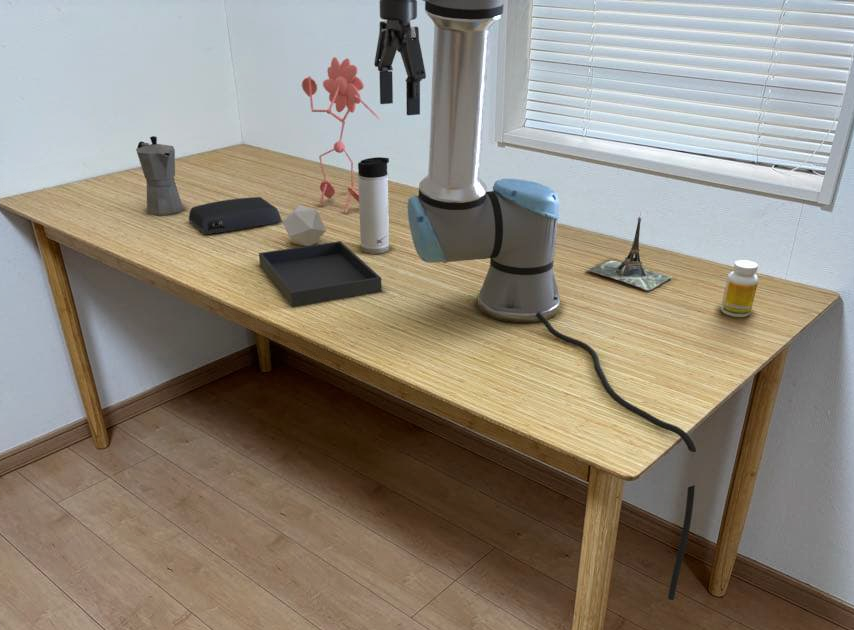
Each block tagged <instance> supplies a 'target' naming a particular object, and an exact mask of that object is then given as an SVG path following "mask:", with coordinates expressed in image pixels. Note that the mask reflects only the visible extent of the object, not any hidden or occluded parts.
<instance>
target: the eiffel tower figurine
mask: <svg viewBox="0 0 854 630" xmlns="http://www.w3.org/2000/svg"><path fill="white" fill-rule="evenodd" d="M641 214H642V212H641V211H640V214H639V215H641ZM641 221H642V217H641V216H639V217H638V218H637V225H636V229H635V234H634V237H633V242H632V246H631V247H630V251H629V253H628V255H627V256H626V257H625V258H624V260H623V261H622V262H620V261H616V260H612V259H611V260H608V261H607V262H605V263H602V264H599V265H597V266H594V267H591V268H589V269H587V272H588V271H589V272H592V273H595V274H597V275H600V276H603V277H607V278H610V279H614V280H617V281H619V282H623V283H626V284H629V285H632V286H634V287H638V288H640V289H643V290H645V291H648V292H649V291H652V290H653V289H655V288H656V287H658V286H661V285H662V284H663V283H665V282H667V281H669V280H670V279H671V278H672V279H673V277H674V275H669V274H664V273H659V272H656V271H652V270H651V269H646V268H644V267H643V265H642V264H643V261H642V260H641V256H640V247H639V246H640V232H641Z"/></svg>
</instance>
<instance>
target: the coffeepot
mask: <svg viewBox="0 0 854 630" xmlns="http://www.w3.org/2000/svg"><path fill="white" fill-rule="evenodd" d="M149 140H150V142H151V143H150V142H149V143H148V142H144V141H142V140H141V141H139V142H138V144H137V147H136V148H135V150H136V154H137V157H138V161H139V163H140V167H141V169H142V172H143V173H142V174H143V176H144V178H145V180H146V210H147V213H148V214H150V215H153V216H169V215H175V214H178V213H180V212H183V210H184V206H183V202H182V199H181V196H180V194H179V189H178V187H177V184H176V180H175V176H176V153H175V152H176V149H175V147H174V146H173V145H168V144H161V143H158V137H157V136H155V135H153V136H149Z"/></svg>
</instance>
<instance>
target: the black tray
mask: <svg viewBox="0 0 854 630" xmlns="http://www.w3.org/2000/svg"><path fill="white" fill-rule="evenodd" d="M258 258H259V266H260V269H262V270H263V272H264V273H265V274H266V276H267V277H268V278H269V280H270V281H271V282H272V283H273V284H274V286H275V287H276V288H277V290H278V291H279V292H280V293H281V294H282V296H283V297H284V298H285V300H286V301H287V302H288V303H289V305H290V306H291V307H292V308H295V307H301V306H307V305H313V304H318V303H324V302H331V301H334V300H341V299H346V298H347V299H348V298H352V297H358V296H363V295H364V296H365V295H369V294H370V295H371V294H375V293H382V292H383V291H382V277H381V276H380V275H379V274H378V273H377V272H375V270H373V268H371V267H370V266H369V265H368V264H367V263H365V262H364V260H362V259H361V258H360V257H359V256H358V255H357V254H356V253H355V252H354V251H353V250H351V249H350V248H349V247H348V246H347V244H345V243H343V241H342V240H338V241H331V242H325V243H318V244H313V245H310V246H298V247H297V246H296V247H291V248H284V249H277V250H270V251H263V252H259V253H258Z"/></svg>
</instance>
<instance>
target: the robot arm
mask: <svg viewBox="0 0 854 630" xmlns="http://www.w3.org/2000/svg"><path fill="white" fill-rule="evenodd" d="M422 1H423V2H424V12H425V14H426V15H427V16H428V17H429V18H430V20H431V21H432V23H433V24H434V25H433V26H434V27H433V51H432V52H433V53H432V77H431V78H432V79H431V99H430V100H431V101H430V102H431V103H430V124H429V149H428V172H427V175H426V176H425V177H424V178H423V179H421V180H420V182H419V184H418V195H416V194H414V195H412V196H410V197H409V198H408V199H407V219H408V224H409V231H410V234H411V239H412V243H413V247H414V249H415V252H416V254H417V256H418V258H419V259H420V260H421V261H422V262H425V263H428V264H434V263H443V264H447V263H452V262H464V261H465V262H466V261H475V260H488V259H489V268H488V270H487V273H486V275H485V278H484V281H483V282H482V286H481V289H480V290H479V293H478V303H477V304H478V308H479V310H480V311H481V312H482V313H483V314H485V315H486V316H489V317H491V318H493V319H495V320H499V321H503V322H509V323H518V324H519V323H522V324H524V323H525V324H526V323H537V322H541V323H542V324H543V325H544V327H545V328H546V329H547V331H548V332H549V333H550V334H551V335H553V336H554V337H555V338H557V339H559V340H561V341H563V342H566V343H568V344H571V345H574V346H576V347H579V348H581V349H583V350H584V351H586V352H587V353H588V354H589V356H590V357H591V359H592V362H593V367H594V370H595V373H596V374H597V377H598V378H599V381H600V383H601V385H602V387H603V388H604V390H605V392H606V393H607V394H608V395H609V396H610V398H611V399H613V400H614V401H615V402H616V403H617V404H619V405H620V406H622V407H623V408H624V409H626V410H627V411H629V412H632V413H633V414H634V415H637V416H639V417H641V418H642V419H644V420H646V421H648V422H649V423H651V424H653V425H655V426H656V427H658V428H661V429H663V430H666V431H669V432H672V433H673V434H675V435H677V436H679V437H680V438H681V439H682V440H683V441H684V443H685V445H686V447H687V449H688V451H690V452H692V453H696V452H697V448H696V445H695V443H694V441H693V440H692V438H691V437H690V435H689V434H688V433H687V432H685V430H683V429H682V428H680V427H679V426H677V425H674V424H672V423H669V422H666V421H663V420H661V419H659V418H657V417H656V416H654V415H652V414H650V413H648V412H646V411H644V410H643V409H641V408H639V407H637V406H635V405H633V404H632V403H630V402H629V401H626V400H625V399H624V398H622V397H621V396H620V395H619V394H618V393H617V392H615V390H614V389H613V387H612V386H611V384H610V383H609V380H608V379H607V377H606V375H605V373H604V371H603V369H602V367H601V363H600V359H599V356H598V354H597V352H596V351H595V350H594V349H593V348H592V347H591V346H590V345H589V344H587V343H586V342H584V341H581V340H579V339H575V338H573V337H570V336H567V335H565V334H563V333H561V332H559V331H558V330H556V329H555V328H554V327H553V325H552V324H551V323H550V322H549V319H551V318H552V317H555V316H556V315H557V314H558V312H559V311H560V304H561V303H560V301H561V297H560V295H559V294H560V293H559V289H558V286H557V281H556V277H555V273H554V260H555V250H556V243H557V242H556V241H557V232H558V222H559V219H560V215H559V196H558V194H557V192H556V191H555V190H554V189H553V188H551V187H550V186H547V185H544V184H542V183H538V182H535V181H532V180H526V179H519V178H502V179H497V180H495V182H494V183H493V186H492V190H491V191H488V187H487V184H486V183H485V182H484V181H483V180H482V179H481V178H480V170H481V160H482V159H481V157H482V145H483V136H484V135H483V134H484V122H485V121H484V120H485V108H486V98H487V96H486V95H487V87H488V86H487V84H488V72H489V62H490V61H489V60H490V48H491V47H490V46H491V36H492V35H491V34H492V27H493V26H494V24H495V23H496V22H497V21H499V20H500V19H501V18H502V17H503V13H504V5H505V4H504V3H505V0H422ZM379 18H380V19H381V20H383V21H380V22H379V30H378V31H379V33H378V39H377V44H376V51H375V57H374V67H375V68H377V71H378V73H379V103H380V105H389V104H394V93H393V91H394V89H393V84H394V83H393V71H394V69H393V66H392V65H393V63H394V60H395V56H396V54H397V52H398V53H400V56H401V59H402V63H403V66H404V69H405V72H406V76H407V77H406V78H405V82H406V83H405V84H406V86H405V87H406V89H405V90H406V91H405V92H406V98H405V99H406V116H417V115H421V82H422V80H425V79H426V78H427V74H426V68H425V64H424V58H423V53H422V48H421V42H420V31H419V26H411V21H412V20H416V19H417V18H418V0H379ZM695 487H696V485H695V484H693V485H691V486H688V487H687V491H686V492H687V494H686V503H685V504H686V506H685V513H684V514H685V515H684V519H683V525H682V530H681V535H680V541H679V545H678V549H677V554H676V557H675V562H674V566H673V571H672V575H671V579H670V584H669V590H668V595H667V599H668V600H670V601H674V600H675V598H676V597H675V595H676V592H677V591H676V590H677V587H678V582H679V577H680V572H681V569H682V565H683V560H684V556H685V552H686V548H687V544H688V538H689V533H690V528H691V522H692V516H693V509H694V499H695Z"/></svg>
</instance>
